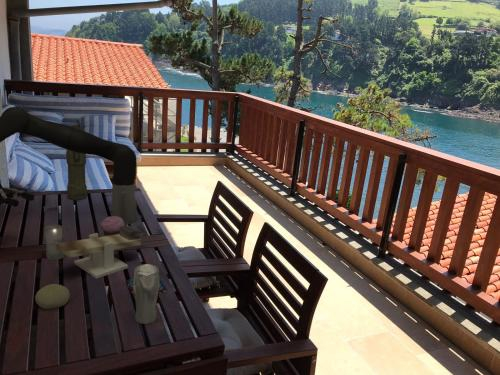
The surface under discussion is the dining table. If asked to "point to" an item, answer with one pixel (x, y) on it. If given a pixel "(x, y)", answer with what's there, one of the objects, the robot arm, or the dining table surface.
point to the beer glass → (146, 292)
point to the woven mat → (130, 286)
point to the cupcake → (112, 225)
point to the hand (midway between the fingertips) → (26, 200)
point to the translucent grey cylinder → (53, 241)
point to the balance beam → (100, 243)
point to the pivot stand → (101, 261)
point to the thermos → (76, 174)
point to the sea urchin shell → (52, 296)
